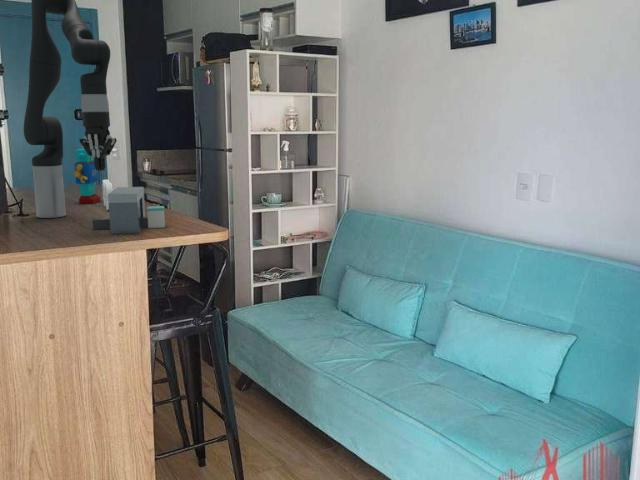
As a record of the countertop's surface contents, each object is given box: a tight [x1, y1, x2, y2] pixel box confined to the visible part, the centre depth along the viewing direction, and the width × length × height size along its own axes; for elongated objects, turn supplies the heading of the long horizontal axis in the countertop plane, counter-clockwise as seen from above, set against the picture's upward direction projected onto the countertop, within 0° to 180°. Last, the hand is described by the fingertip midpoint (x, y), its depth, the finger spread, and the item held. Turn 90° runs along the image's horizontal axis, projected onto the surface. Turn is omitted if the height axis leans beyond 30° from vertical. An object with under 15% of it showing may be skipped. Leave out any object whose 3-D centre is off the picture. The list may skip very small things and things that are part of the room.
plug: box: [92, 205, 166, 231], centre depth 195 cm, size 4×21×6 cm, turn 104°
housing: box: [108, 186, 146, 235], centre depth 193 cm, size 18×8×12 cm, turn 9°
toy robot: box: [74, 145, 102, 205], centre depth 249 cm, size 12×6×25 cm, turn 179°
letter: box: [101, 179, 114, 212], centre depth 236 cm, size 22×2×10 cm, turn 22°
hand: (100, 170), depth 189 cm, fingers closed
